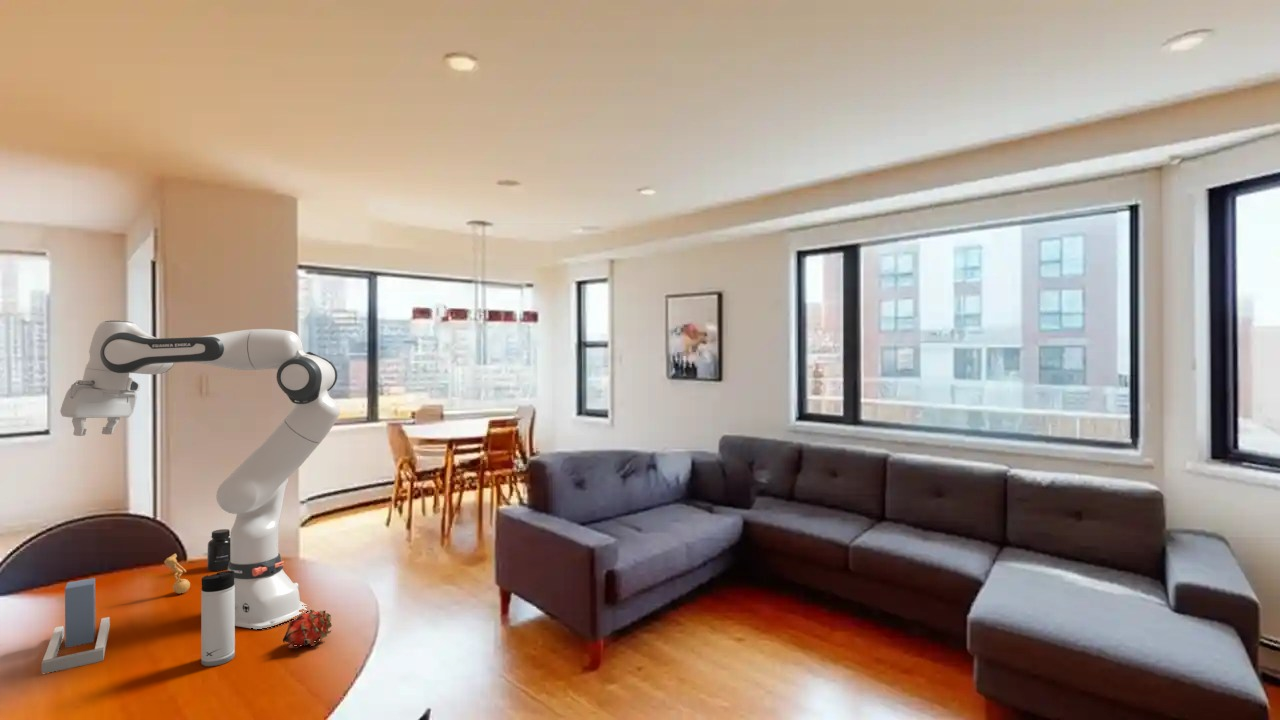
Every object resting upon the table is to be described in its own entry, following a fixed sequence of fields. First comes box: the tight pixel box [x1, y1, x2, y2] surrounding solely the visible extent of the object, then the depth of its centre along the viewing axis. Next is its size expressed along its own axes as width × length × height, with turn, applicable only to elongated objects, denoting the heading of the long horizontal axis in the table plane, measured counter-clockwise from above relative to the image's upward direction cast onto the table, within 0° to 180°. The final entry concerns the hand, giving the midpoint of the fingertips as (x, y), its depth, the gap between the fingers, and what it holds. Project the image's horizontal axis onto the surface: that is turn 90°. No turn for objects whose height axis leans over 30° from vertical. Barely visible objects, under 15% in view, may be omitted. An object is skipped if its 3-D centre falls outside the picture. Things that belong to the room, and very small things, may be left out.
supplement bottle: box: [206, 528, 231, 572], centre depth 198 cm, size 7×7×12 cm
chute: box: [41, 616, 111, 675], centre depth 144 cm, size 22×10×2 cm, turn 38°
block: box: [64, 577, 96, 649], centre depth 148 cm, size 5×5×14 cm
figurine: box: [163, 553, 191, 595], centre depth 176 cm, size 8×6×12 cm
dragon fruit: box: [282, 608, 332, 649], centre depth 147 cm, size 8×8×12 cm
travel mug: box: [200, 570, 236, 667], centre depth 139 cm, size 6×7×20 cm
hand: (93, 434), depth 158 cm, fingers open, 8 cm apart
